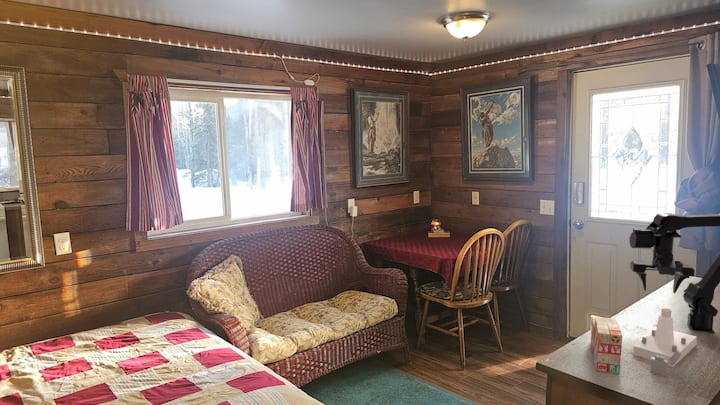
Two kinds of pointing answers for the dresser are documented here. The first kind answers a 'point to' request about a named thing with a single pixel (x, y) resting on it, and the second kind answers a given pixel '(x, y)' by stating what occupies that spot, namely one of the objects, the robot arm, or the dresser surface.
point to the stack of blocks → (606, 344)
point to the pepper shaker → (665, 329)
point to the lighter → (663, 363)
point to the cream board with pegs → (651, 348)
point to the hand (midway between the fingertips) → (659, 291)
